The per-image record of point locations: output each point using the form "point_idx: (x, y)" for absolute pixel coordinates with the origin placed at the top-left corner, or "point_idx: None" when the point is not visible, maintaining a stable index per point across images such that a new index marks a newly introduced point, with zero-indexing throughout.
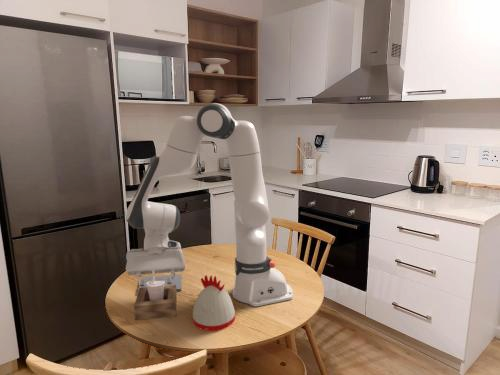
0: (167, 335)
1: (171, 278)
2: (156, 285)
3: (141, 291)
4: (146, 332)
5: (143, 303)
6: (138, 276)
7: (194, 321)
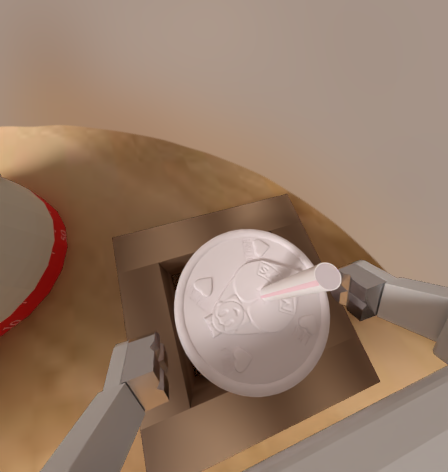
0: (141, 162)
1: (106, 379)
2: (225, 251)
3: (338, 332)
4: (206, 170)
5: (261, 216)
6: (443, 295)
7: (50, 209)
